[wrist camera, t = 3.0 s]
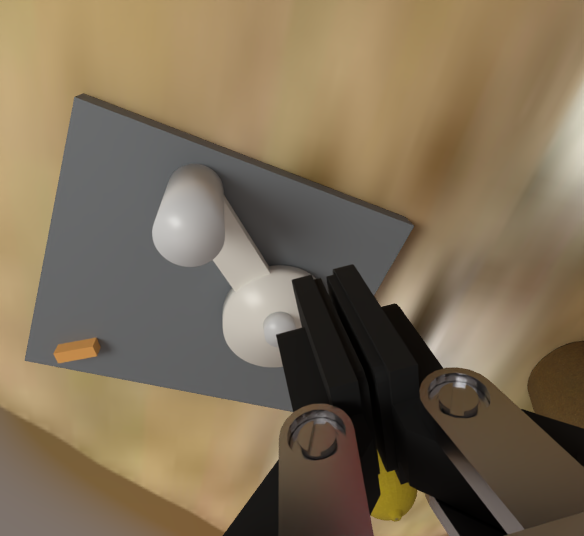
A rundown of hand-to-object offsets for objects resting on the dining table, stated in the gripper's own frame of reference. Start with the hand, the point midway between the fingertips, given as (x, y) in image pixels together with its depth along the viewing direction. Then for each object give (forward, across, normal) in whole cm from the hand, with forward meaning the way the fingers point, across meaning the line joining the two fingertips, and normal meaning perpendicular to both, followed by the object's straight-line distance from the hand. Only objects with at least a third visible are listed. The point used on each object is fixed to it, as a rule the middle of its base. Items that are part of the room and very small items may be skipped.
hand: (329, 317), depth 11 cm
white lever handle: (+14, +2, +5) cm, 15 cm away
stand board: (+16, +5, +7) cm, 18 cm away
